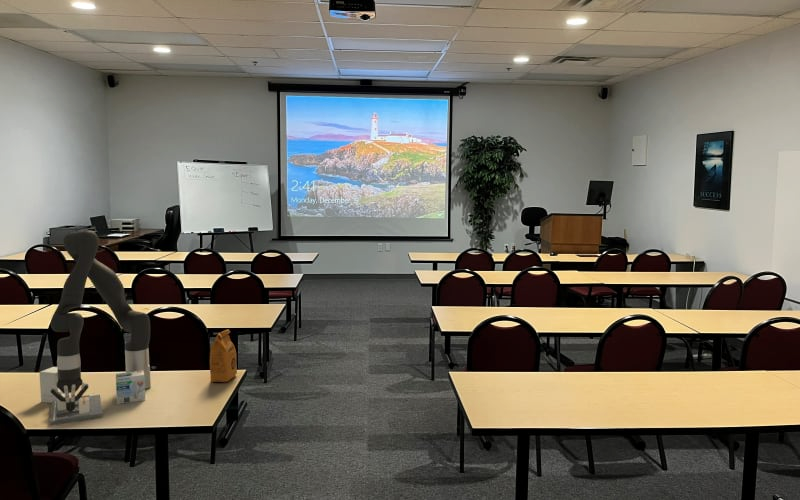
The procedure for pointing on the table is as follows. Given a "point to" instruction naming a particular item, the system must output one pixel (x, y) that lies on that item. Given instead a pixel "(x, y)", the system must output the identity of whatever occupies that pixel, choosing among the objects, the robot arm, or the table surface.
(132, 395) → the light bulb box
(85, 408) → the block
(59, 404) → the handle
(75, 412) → the grey flat slotted panel
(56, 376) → the supplement box
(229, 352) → the coffee package
